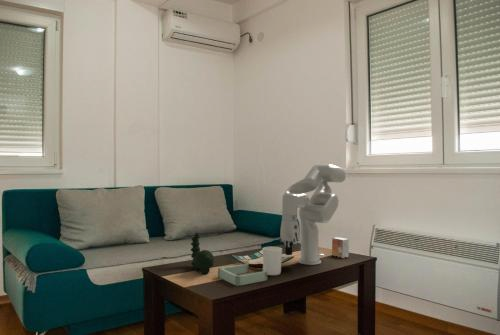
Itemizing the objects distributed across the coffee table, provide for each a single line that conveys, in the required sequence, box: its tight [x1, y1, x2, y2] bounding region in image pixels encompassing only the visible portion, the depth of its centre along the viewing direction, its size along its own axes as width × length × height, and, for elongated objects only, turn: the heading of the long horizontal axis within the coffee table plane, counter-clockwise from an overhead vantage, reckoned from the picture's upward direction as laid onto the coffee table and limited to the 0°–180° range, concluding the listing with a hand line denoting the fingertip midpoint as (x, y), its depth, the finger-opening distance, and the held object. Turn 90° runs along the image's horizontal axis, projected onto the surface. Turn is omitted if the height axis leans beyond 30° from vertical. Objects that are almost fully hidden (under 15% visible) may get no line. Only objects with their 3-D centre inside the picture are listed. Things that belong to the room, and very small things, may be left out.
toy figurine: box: [190, 232, 215, 275], centre depth 194 cm, size 9×19×25 cm
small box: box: [331, 236, 350, 259], centre depth 226 cm, size 8×6×10 cm
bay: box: [217, 259, 268, 287], centre depth 180 cm, size 16×17×6 cm
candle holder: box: [261, 246, 283, 276], centre depth 190 cm, size 10×10×12 cm
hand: (288, 254), depth 195 cm, fingers closed
